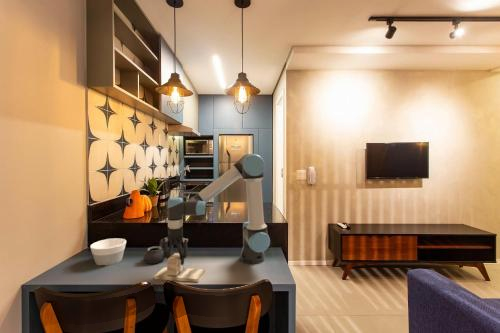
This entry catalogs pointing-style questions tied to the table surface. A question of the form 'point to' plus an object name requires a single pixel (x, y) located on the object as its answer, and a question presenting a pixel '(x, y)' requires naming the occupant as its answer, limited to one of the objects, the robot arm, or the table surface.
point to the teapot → (155, 254)
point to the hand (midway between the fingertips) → (175, 270)
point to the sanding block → (173, 265)
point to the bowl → (108, 251)
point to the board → (182, 275)
